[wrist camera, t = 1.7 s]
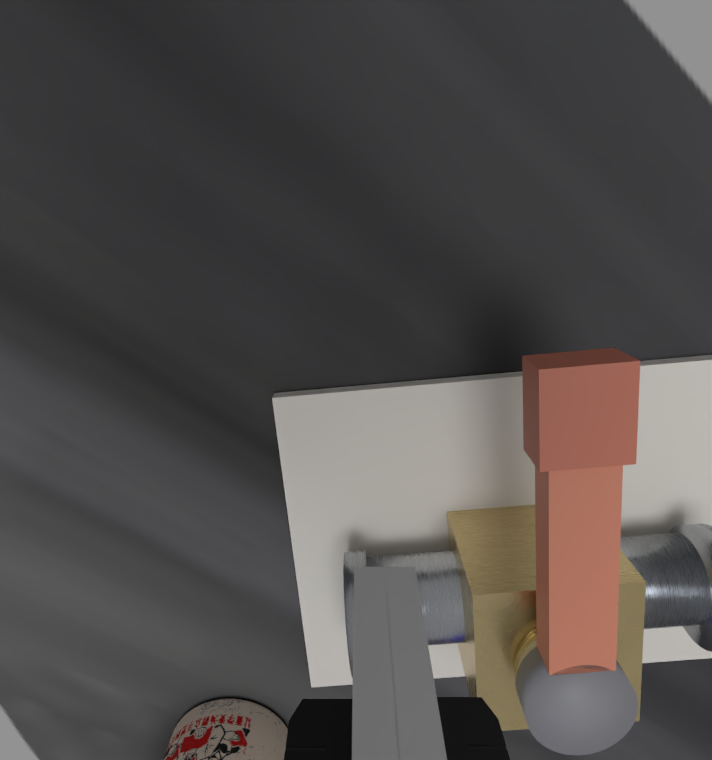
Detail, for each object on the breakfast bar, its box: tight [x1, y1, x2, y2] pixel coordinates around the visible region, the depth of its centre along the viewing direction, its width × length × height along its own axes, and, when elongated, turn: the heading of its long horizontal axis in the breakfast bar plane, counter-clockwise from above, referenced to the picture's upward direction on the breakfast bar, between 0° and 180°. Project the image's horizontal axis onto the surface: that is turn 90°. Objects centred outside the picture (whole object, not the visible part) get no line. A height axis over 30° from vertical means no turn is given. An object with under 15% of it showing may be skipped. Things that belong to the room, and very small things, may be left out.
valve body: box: [343, 504, 712, 731], centre depth 31 cm, size 8×20×9 cm, turn 95°
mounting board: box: [272, 355, 712, 687], centre depth 36 cm, size 20×27×1 cm
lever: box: [515, 348, 640, 755], centre depth 24 cm, size 18×5×2 cm, turn 5°
